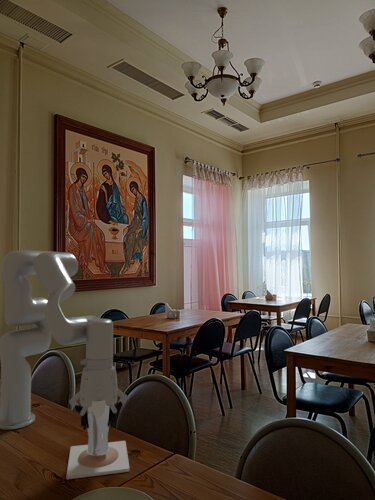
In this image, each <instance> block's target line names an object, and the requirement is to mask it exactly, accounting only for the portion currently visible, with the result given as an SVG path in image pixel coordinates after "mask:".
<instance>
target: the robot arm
mask: <svg viewBox="0 0 375 500" xmlns="http://www.w3.org/2000/svg"><path fill="white" fill-rule="evenodd" d="M78 270H79V262H78V259H77V258H76V256H75V255H74V254H73V253H70V252H63V251H62V252H60V251H52V250H34V249H33V250H32V249H31V250H30V249H20V250H19V249H17V250H13V251H9V252H8V253H7V254H6V255H5V256H4V258H3V260H2V264H1V272H2V273H1V274H2V279H3V281H4V288H5V289H4V321H5V323H6V325H8V326H9V327H24V326H30V325H32V327H28V328H20V329H14V330H11V331H7V332H5V333H3V335H1V337H0V367H1V368H0V370H1V371H0V375H1V376H0V430H5V431H7V430H16V429H22V428H24V427H27V426H30V425H31V424H33V422H35V421H36V415H35V414H34V413H33V412H31V410H32V408H31V407H32V406H31V404H32V403H31V402H32V399H31V397H32V395H31V394H32V369H31V368H32V367H31V365H30V364H29V362H28V361H27V360H26V357H29V356H34V355H38V354H43V353H45V352H46V351H48V350H49V348H50V346H51V343H52V337H53V339H54V341H56V343H58V344H59V345H62V346H70V345H74V344H78V343H79V344H81V343H85V358H83V359H80V361H79V362H80V363H79V364H80V366H84V368H82V372H81V378H80V379H81V380H80V387H79V388H80V390H79V391H77V393H76V394H75V395H74V396H73V397H72V398H70V400H69V402H68V403H69V404H70V406H71V407H72V408H73V409H74V410H75V411H76V412H77V413H78V414H79V415H80V427H82V428H83V431H87V424H86V410H87V407H91V406H92V401H102V400H105V405H107V406H110V408H111V419H110V425H109V427H110V428H111V429H113V428H114V424H116V422H117V421H116V419H117V418H116V417H117V412H118V411H119V410H120V408H121V407H122V406H123V404H124V403H126V401H127V400H128V395H127V394H125V393H124V392H123V391H122V390H121V389H120V388H118V378H117V377H118V375H117V370H116V366H114V322H113V321H112V319H109V318H100V317H98V316H96V315H90V314H89V315H87V314H86V315H81V316H73V317H66V316H65V315H64V313H63V311H62V309H61V306H60V304H62V303H63V302H65V301H67V300H68V299H69V298H70V297H72V296H73V294H74V293H75V291H76V285H75V282H74V281H73V280H72V278H73V276H75V275H76V274H77V273H78ZM28 275H29V276H37V277H38V279H39V281H40V283H41V284H42V287H43V288H44V290H45V292H46V294H47V296H48V299H47V298H45V297H40V296H39V297H32V291H33V290H32V289H33V288H32V284H31V282H30V280H29V278H28V277H27V276H28ZM71 277H72V278H71ZM118 397H120V399H119V400H118ZM77 401H79V403H80V404H79V403H78V402H77Z"/></svg>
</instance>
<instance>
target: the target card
mask: <svg viewBox="0 0 375 500" xmlns="http://www.w3.org/2000/svg"><path fill="white" fill-rule="evenodd" d="M126 441H127V440H119V441H110V442H109V441H108V445H109V451H108V452H107V453H106V454H104V455H101V456H90V455H88V454H87V447H88V444H83V445H82V444H80V445H72V446H70V450H69V456H68V464H67V470H66V476H65V477H66V479H65V480H72V479H79V478H87V477H88V478H89V477H95V476H97V477H99V476H105V475H112V474H119V473H128V472H130V468H131V467H130V463H129V462H130V461H129V456H128V449H127V442H126Z"/></svg>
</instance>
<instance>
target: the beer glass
mask: <svg viewBox="0 0 375 500" xmlns="http://www.w3.org/2000/svg"><path fill="white" fill-rule="evenodd" d="M110 419H111V408H110V406H107V405H105V400H102V401H92V406H91V407H87V410H86V431H87V436H88V441H87V443H88V444H87V445H88V447H87V454H88V455H90V456H101V455H104V454H106V453H107V452H108V451H109V445H108V443H109V439H108V438H109V437H108V436H109V430H110Z"/></svg>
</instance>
